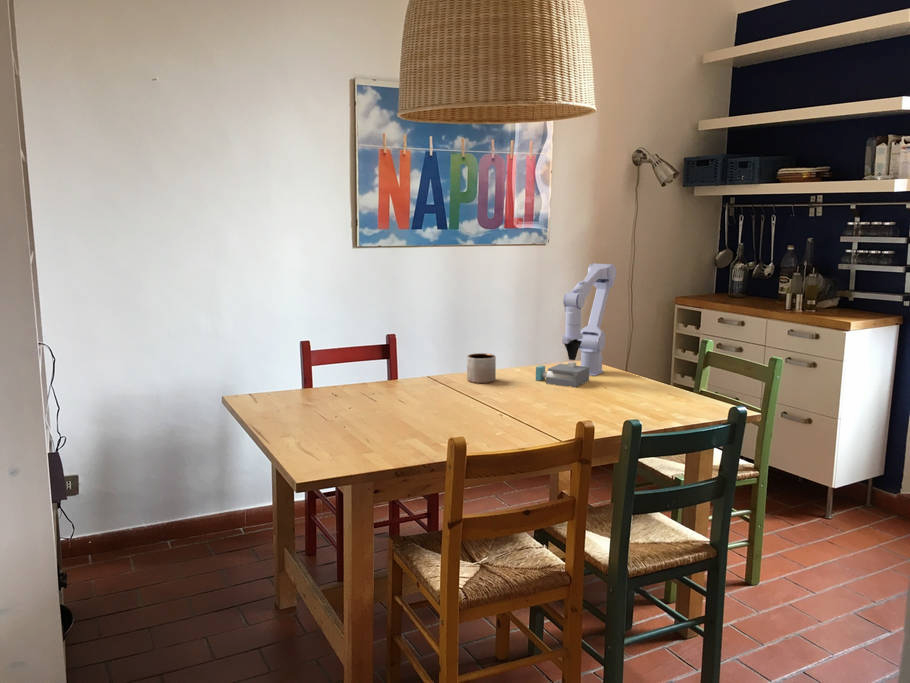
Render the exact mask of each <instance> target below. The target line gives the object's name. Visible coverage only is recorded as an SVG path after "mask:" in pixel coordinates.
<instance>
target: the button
mask: <svg viewBox="0 0 910 683" xmlns="http://www.w3.org/2000/svg"><path fill="white" fill-rule="evenodd" d="M567 365H568V367H573V368H575V367H576V366H577V362H575V361H569V362H567Z"/></svg>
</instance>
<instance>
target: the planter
mask: <svg viewBox="0 0 910 683" xmlns="http://www.w3.org/2000/svg"><path fill="white" fill-rule="evenodd" d="M466 359H467V360H466V361H467V363H466V380H467V381H468V382H469V383H472V382H475V383H474V384H489V383H488V382H491V383H494V382H495V381H496V378H497V377H496V365H497V364H496V363H497V362H496V355H495V354H491V353H483V352H482V353H471V354H468V355H467V358H466Z"/></svg>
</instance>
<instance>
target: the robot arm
mask: <svg viewBox="0 0 910 683" xmlns="http://www.w3.org/2000/svg"><path fill="white" fill-rule="evenodd" d="M616 277H617V268H616V266H615V264H613V263H610V264H609V263H594V262H590V264H589V266H588V268H587V275H586V276H585V278H584V279H583V280H580V281H579V282H577V283H576V285H575V286H574V288H573V289H572V290H571V291H570V292H569V291H568V292H566V293H565V294H564V296H563V300H562V304H563V307H564V312H565V325H564V327H565V328H564V329H565V330H564V331H565V332H564V333H565V334H562V343H561V344H563V345H564V347H565V349H566V352H567V357H568V360H569V361H576V358H577V355H578V351H579V352H580V366H584V367H589V376H594V377H596V376H598V375H600V374H603V373H604V372H605V370H603V354H602V351H603V350H604V348H605V344H606V334H605V332H604V331H603V330H602V329H601V327H602V322H603V318H604V314H605V310H606V305H607V302H608V298H609V294H610V289H611V288H613V287H614V284H615V280H616ZM592 286H594V287H595V289H596V290H595V295H594V297H593V298H594V299H593V302H592V307H591V310H590V315H589V319H588V323H587V325H586V326H584V327H583V328H582V308H583V307H584V306H585V301H586V299H587V297H588V295H589V294H590V293H591V291H592Z"/></svg>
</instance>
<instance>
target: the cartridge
mask: <svg viewBox="0 0 910 683" xmlns="http://www.w3.org/2000/svg"><path fill="white" fill-rule="evenodd" d="M546 377H555V378H563V379H571V380H573V377H574V374H570V373H562V372H554V371H548V370H547V372H546V366H545V365H541V364H540V365H538V366H535V381H540V382H541V381H543V380H546Z"/></svg>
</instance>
